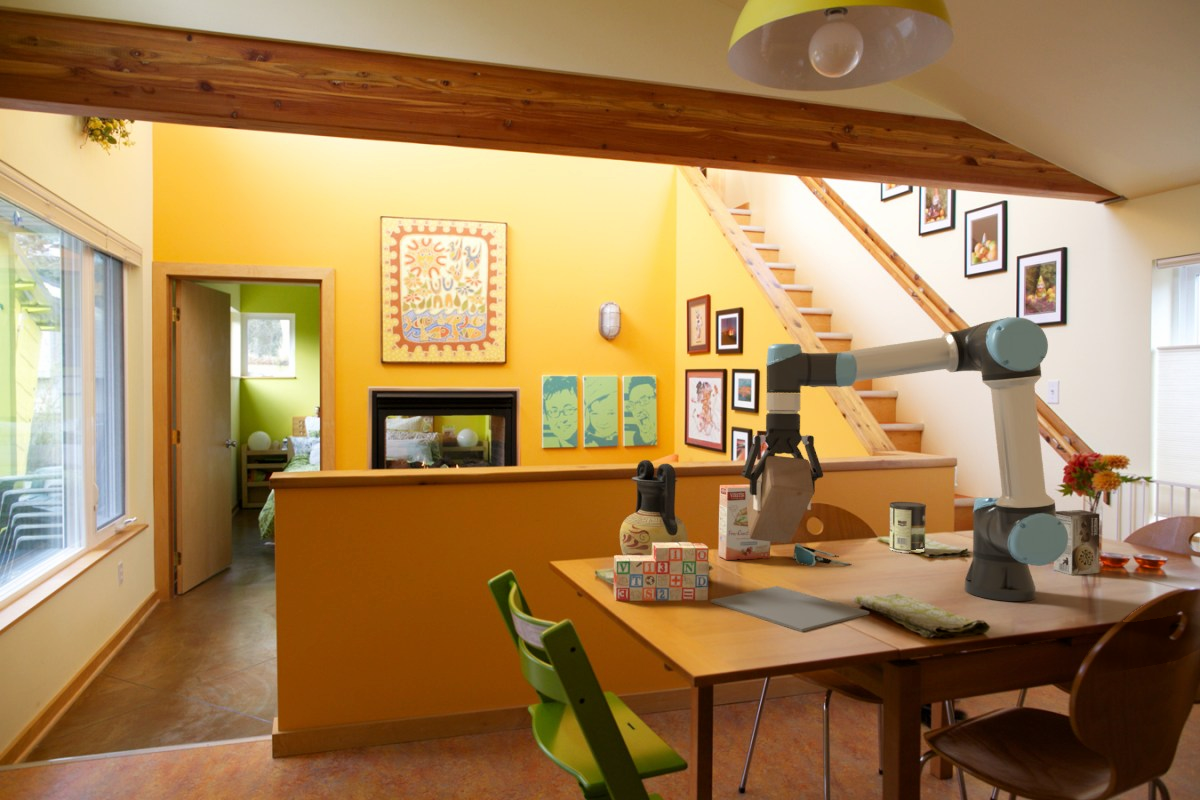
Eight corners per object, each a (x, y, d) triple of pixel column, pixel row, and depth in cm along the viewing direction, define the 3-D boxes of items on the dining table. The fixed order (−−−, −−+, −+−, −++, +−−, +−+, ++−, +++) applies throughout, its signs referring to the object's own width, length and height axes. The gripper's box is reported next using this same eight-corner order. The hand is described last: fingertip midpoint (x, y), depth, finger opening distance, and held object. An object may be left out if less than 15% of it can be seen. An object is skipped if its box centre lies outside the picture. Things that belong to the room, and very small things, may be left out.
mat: (869, 614, 169) (869, 611, 169) (801, 631, 156) (801, 628, 156) (776, 588, 190) (776, 586, 190) (710, 602, 178) (710, 599, 178)
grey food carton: (1079, 568, 215) (1080, 509, 215) (1100, 573, 209) (1101, 513, 209) (1052, 569, 213) (1053, 510, 213) (1071, 575, 207) (1072, 514, 206)
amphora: (701, 582, 196) (702, 462, 195) (651, 593, 185) (652, 466, 185) (654, 569, 210) (655, 457, 209) (604, 578, 199) (605, 460, 199)
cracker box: (726, 561, 220) (727, 487, 220) (717, 556, 226) (718, 484, 226) (771, 558, 224) (772, 485, 224) (761, 554, 230) (762, 483, 229)
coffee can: (922, 547, 241) (922, 502, 241) (928, 554, 231) (928, 507, 231) (886, 546, 244) (887, 500, 243) (891, 552, 234) (891, 505, 233)
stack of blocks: (615, 601, 178) (615, 547, 178) (613, 594, 184) (613, 542, 184) (708, 600, 180) (709, 547, 179) (703, 593, 186) (703, 541, 186)
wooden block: (790, 545, 183) (815, 493, 169) (748, 540, 183) (770, 488, 169) (786, 510, 190) (810, 457, 176) (745, 506, 190) (766, 452, 176)
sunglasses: (785, 556, 228) (788, 539, 228) (835, 563, 229) (837, 546, 229) (800, 567, 214) (803, 549, 214) (853, 574, 215) (856, 556, 215)
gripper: (825, 412, 182) (824, 506, 183) (727, 411, 179) (726, 507, 179) (839, 413, 175) (838, 511, 175) (738, 412, 172) (736, 512, 172)
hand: (782, 509), depth 177 cm, fingers closed on wooden block, 11 cm apart
